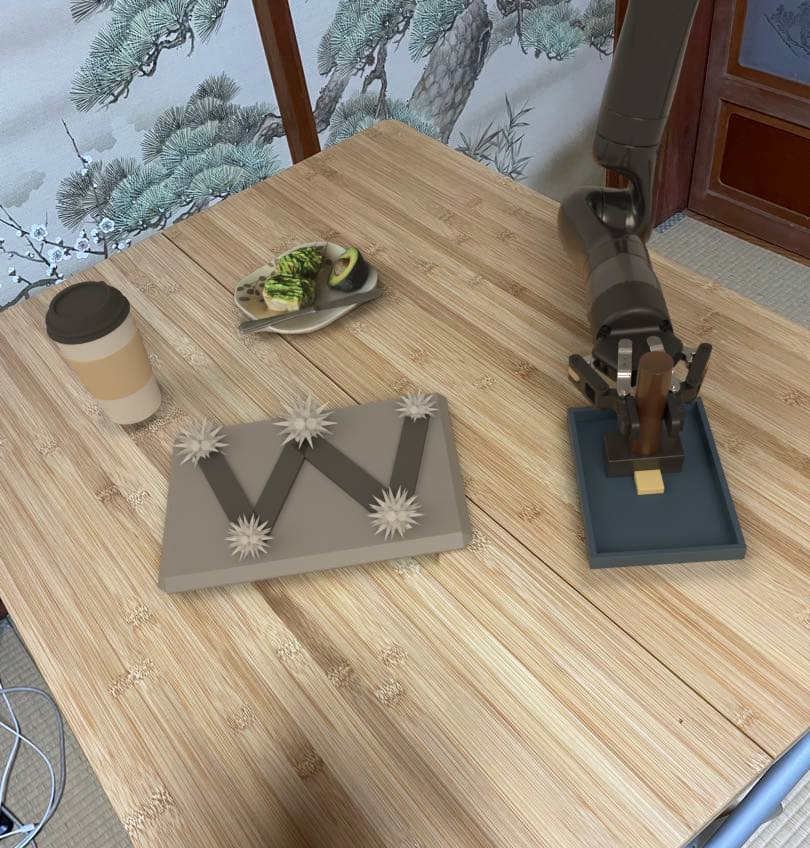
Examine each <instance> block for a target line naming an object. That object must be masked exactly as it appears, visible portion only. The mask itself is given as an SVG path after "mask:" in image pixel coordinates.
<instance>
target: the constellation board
mask: <svg viewBox="0 0 810 848" xmlns="http://www.w3.org/2000/svg"><path fill="white" fill-rule="evenodd" d="M421 388H422V387H421V386H420V387H419V390H418V392H417V395H416V394H415V392H414V389H413V388H411V392H410V391H409V390H405V392H406V395H407V396H403V395H401V394H398V395H399V398H393V399H392V398H391V399H386V400H380V401H375V402H366V403H361V404H356V405H348V406H344V407H343V406H342V407H337V408H331V409H325V408H326V406H327V405H328V404H329V402H330V400H328V401H327V402H325V403H323V404H322V405H320V406H319V407H317V408H316V406H317V401H318V398H319V394H316V396H315V398H314V399H313V401H312V398H311V395H312V389H310V391H309V393H308V396H307V399H306V401H305V403H304V401H303V400H302V397H301V395H300V392H299V390H298V389H297V397H298V398H296V399H297V401H296V400H295V398H294V397H293V395H292V394H291V393H290V398H291V400H292V401H291V402H292V405H293V408H292V407H290V406H288V405H287V404H285V403H283V402H282V401H279V403H280V404H281V406H282V407H284V409H285V410H286V411H287V412H288V413H283V412H278V411H275V412H274V413H275V414H277V415H278V416H280V417H275V418H268V419H263V420H255V421H251V422H245V423H238V424H231V425H226V426H224V425H221V426H219V427H213V424H214V420H215V419H210V422H208V423H207V417H204V420H203V423H202V425H201V427H200V424H199V422H198V420H197V418H196V416H195V415H193V416H194V424H193V422H192V421H191V420H187V419H186V421H187V425H188V427H189V430H190V431H189V430H188V429H186V428H184V427H182V426H181V425H179V426H178V425H177V427H178V429H179V430H180V431H182V433H179V434H177V435H174V438H175V439H174V440H173V445H171V447H172V454H171V463H170V473H169V481H168V490H167V500H166V508H165V516H164V526H163V535H162V544H161V552H160V554H161V555H160V562H159V571H158V578H157V587H158V588H159V589H160V590H161V591H163V592H164V593H165V594H166V595H177V594H181V593H188V592H195V591H202V590H207V589H214V588H219V587H220V588H221V587H225V586H233V585H239V584H247V583H253V582H260V581H266V580H272V579H278V578H286V577H291V576H299V575H305V574H310V573H317V572H325V571H330V570H331V571H332V570H337V569H344V568H351V567H357V566H363V565H369V564H375V563H382V562H388V561H395V560H401V559H408V558H414V557H420V556H421V557H422V556H428V555H433V554H434V555H435V554H439V553H447V552H452V551H459V550H460V551H461V550H465V549H466V548H467V546H468V545H469V544H470V543H471V542H472V541H473V539H474V536H473V530H472V525H471V519H470V513H469V509H468V505H467V504H468V503H467V499H466V493H465V489H464V483H463V477H462V472H461V467H460V461H459V456H458V452H457V446H456V440H455V436H454V435H455V434H454V430H453V425H452V419H451V415H450V409H449V403H448V399H447V397H446V396H445V395H442V394H440V393H439V392H437V391H435V392H430V393H429V392H428V393H426V392H427V390H423V392H422V393H421V390H422V389H421ZM324 409H325V410H324ZM194 425H195V426H194Z"/></svg>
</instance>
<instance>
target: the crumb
mask: <svg viewBox="0 0 810 848" xmlns="http://www.w3.org/2000/svg"><path fill="white" fill-rule="evenodd" d="M634 480H635V484H636V489H637V494H638V495H644V494H657V493H663V492H664V484H663V480H662V476H661V471H660V469H657V470H645V471H635V472H634Z"/></svg>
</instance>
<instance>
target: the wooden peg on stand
mask: <svg viewBox="0 0 810 848" xmlns="http://www.w3.org/2000/svg"><path fill="white" fill-rule="evenodd" d="M673 365H674V362H673V359H672V358H671V356H670V355H668V354H667V353H664V352H661V351H651V352H648V353H646V354H644V355H643V356H642V357H641V358H640V360H639V367H638V375H637V382H636V386H635V391H634V392H635V393H634V401H635V404H636V408H637V413H638V417H639V422H640V430H639V438H638V440H635V441H630V440H629V436H628V435H626V436H624V435H623V434H622V433H610V434H604V436H603V447H602V453H603V459H604V464H605V470H606V476H607V478H612V477H625V476H634V472H635V471H645V470H657V469H660V471H661V474H664V473H676V472H681V471H682V466H683V462H684V457H685V454H684V450H683V445H682V441H681V437H680V433H679V434H678V437H675V438H669V436H668V432H667V429H662V426H663V421H664V415H665V409H666V404H667V398H668V393H669V387H670V381H671V376H672V370H674V368H673Z"/></svg>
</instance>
